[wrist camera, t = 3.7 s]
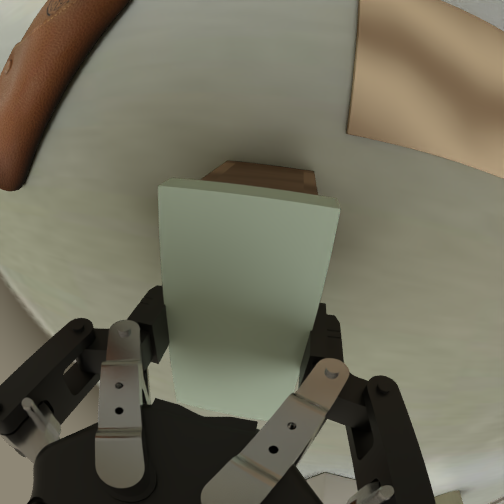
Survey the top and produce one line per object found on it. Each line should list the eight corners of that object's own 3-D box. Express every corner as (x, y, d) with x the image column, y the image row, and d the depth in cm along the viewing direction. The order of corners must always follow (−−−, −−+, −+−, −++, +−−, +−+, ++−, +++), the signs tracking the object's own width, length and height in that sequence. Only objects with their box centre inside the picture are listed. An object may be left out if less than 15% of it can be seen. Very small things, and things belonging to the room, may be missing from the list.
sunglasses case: (77, -38, 11) (47, -47, 7) (142, -4, 15) (131, -7, 11) (-14, 135, 19) (-47, 173, 14) (38, 162, 23) (15, 204, 19)
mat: (359, -21, 11) (361, -25, 10) (521, 46, 10) (526, 45, 9) (346, 133, 15) (347, 134, 15) (508, 180, 14) (513, 182, 14)
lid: (181, 172, 12) (157, 185, 10) (334, 191, 11) (340, 209, 9) (188, 374, 17) (177, 402, 15) (286, 393, 17) (283, 423, 15)
